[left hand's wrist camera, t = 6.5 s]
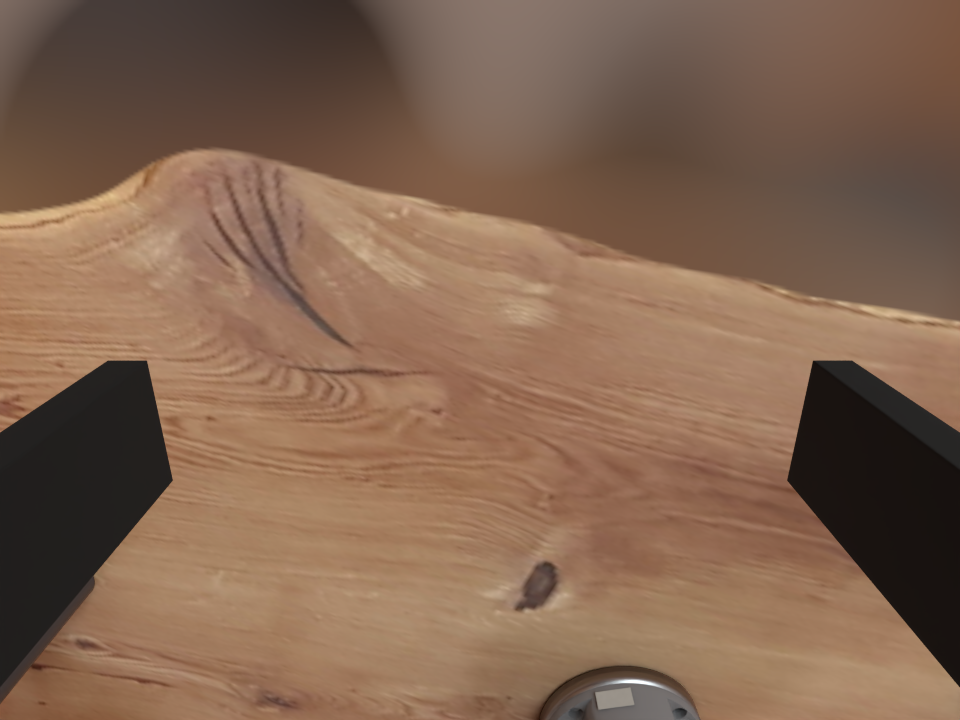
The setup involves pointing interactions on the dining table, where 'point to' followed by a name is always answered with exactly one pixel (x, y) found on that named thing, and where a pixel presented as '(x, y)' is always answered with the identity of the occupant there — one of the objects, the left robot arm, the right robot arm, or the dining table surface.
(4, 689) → the bottle
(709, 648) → the dining table surface
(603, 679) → the left robot arm
